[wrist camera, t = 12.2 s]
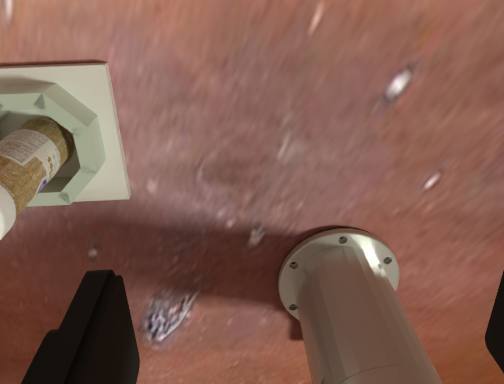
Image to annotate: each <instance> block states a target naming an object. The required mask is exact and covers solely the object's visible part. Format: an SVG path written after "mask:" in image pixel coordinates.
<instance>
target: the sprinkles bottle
mask: <svg viewBox="0 0 504 384" xmlns="http://www.w3.org/2000/svg"><path fill="white" fill-rule="evenodd" d="M73 150H74V144H73V139H72V136H71V135H70V133H69V131H68V130H67V129H66V128H64V127H63V126H62V125H60V124H59V123H58V122H56V121H55V120H53V119H50V118H47V117H35V118H32V119H30V120H28V121H26V122H25V123H24V124H23V125H22V126H21V128H20V129H18V130H17V131H15V132H13V133H11V134H10V135H8V136H7V137H5V138H4V139H3V140H1V141H0V240H1V239H2V238H3V237H4V236H5V235H6V233H7V232H8V231H9V230H10V229H11V227H12V226H13V224H14V222H15V218H16V217H17V215H18V214H19V213H20V212H21V211H22V210H23V209H24V208H25V206H26V205H27V204H28V203H29V202H30V201H31V200H33V198H34V197H35V196H36V195H37V194H38V193H39V192H40V190H41V189H42V188H43V187H44V186H45V185H46V184H47V183H48V182H49V181H50V180H51V178H52V177H53V176H54V175H55V174H56V173H57V171H58V169H60V167H61V166H62V165H64V164H65V163H67V162H68V161H69V160H70V158H71V156H72V155H73Z"/></svg>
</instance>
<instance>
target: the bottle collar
mask: <svg viewBox="0 0 504 384" xmlns="http://www.w3.org/2000/svg"><path fill="white" fill-rule="evenodd" d="M35 117H47V118H50V119H53V120H55V121H56V122H58V123H59V124H60V125H62V126H63V127H64V128H66V129H67V130H68V131H69V133H70V135H71V136H72V139H73V144H74V150H73V155H72V156H71V158H70V160H69V161H68V162H67V163H65V164H64V165H62V166H61V167H60V169H58V171H57V173H56V174H55V175H54V176H53V177H52V178H51V180H50V181H49V182H48V183H47V184H46V185H45V186H44V187H43V188H42V189H41V190H40V192H39V193H38V194H37V195H36V196H35V197H34V198H33V200H31V201H30V202H29V203H28V204H27V205H26V206H25V207H29V206H51V205H70V204H71V203H72V202H79V201H100V200H122V199H129V198H130V196H131V190H130V185H129V179H128V173H127V168H126V162H125V156H124V151H123V145H122V139H121V134H120V128H119V122H118V117H117V111H116V105H115V100H114V94H113V88H112V83H111V77H110V71H109V66H108V62H104V63H78V64H51V65H25V66H0V141H1V140H3V139H4V138H5V137H7V136H8V135H10V134H11V133H13V132H15V131H17V130H18V129H20V128H21V126H22V125H23V124H24V123H25V122H26V121H28V120H30V119H32V118H35Z"/></svg>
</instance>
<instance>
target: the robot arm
mask: <svg viewBox="0 0 504 384" xmlns="http://www.w3.org/2000/svg"><path fill="white" fill-rule="evenodd" d="M398 283H399V267H398V263H397V261H396V259H395V257H394V255H393V253H392V251H391V250H390V248H389V247H388V246H387V245H386V244H385V243H384V242H383V241H382V240H381V239H380V238H378V237H376V236H375V235H373V234H371V233H368V232H365V231H362V230H357V229H351V228H340V229H332V230H327V231H323V232H321V233H318V234H315V235H313V236H311V237H309V238H307V239H305V240H304V241H302V242H301V243H300V244H298V245H297V246H296V247H295V248H294V249H293V250H292V251H291V252H290V253H289V254H288V255H287V257H286V259H285V260H284V262H283V263H282V266H281V269H280V271H279V277H278V288H279V294H280V298H281V301H282V303H283V305H284V307H285V308H286V310H287V311H288V312H289V313H290V314H291V315H292V316H293V317H295V318H296V319H297V320H299V321H300V324H301V329H302V334H303V339H304V344H305V350H306V355H307V360H308V365H309V370H310V375H311V380H312V384H442V382H441V380H440V378H439V376H438V374H437V372H436V370H435V368H434V366H433V364H432V362H431V360H430V358H429V356H428V354H427V353H426V351H425V349H424V347H423V345H422V343H421V341H420V339H419V337H418V335H417V333H416V331H415V329H414V327H413V325H412V323H411V321H410V319H409V317H408V316H407V314H406V312H405V310H404V308H403V306H402V304H401V302H400V300H399V298H398V296H397V294H396V290H397V286H398ZM485 342H486V346H487V349H488V350H489V352H490V354H491V355H492V356H493V358H494V359H495V361H496V362H497V364H498V365H499V367H500V368H501V370H502V371H503V373H504V271H503V275H502V278H501V282H500V285H499V289H498V292H497V296H496V299H495V303H494V306H493V310H492V313H491V317H490V320H489V324H488V327H487V331H486V334H485ZM139 364H140V360H139V352H138V348H137V343H136V338H135V334H134V329H133V324H132V320H131V315H130V310H129V305H128V301H127V296H126V291H125V287H124V282H123V278H122V276H120V275H117V276H115V273H114V272H113V270H96V271H87V272H86V274H85V275H84V277H83V279H82V281H81V284H80V286H79V288H78V290H77V292H76V294H75V296H74V298H73V300H72V302H71V304H70V307H69V309H68V311H67V313H66V315H65V317H64V319H63V321H62V323H61V325H60V327H59V329H57V330H51V331H49V332H48V333H47V334H46V336H45V337H44V339H43V341H42V343H41V345H40V347H39V349H38V351H37V353H36V355H35V357H34V359H33V361H32V363H31V365H30V367H29V369H28V371H27V373H26V375H25V377H24V379H23V381H22V383H21V384H136V381H137V377H138V372H139Z"/></svg>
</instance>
